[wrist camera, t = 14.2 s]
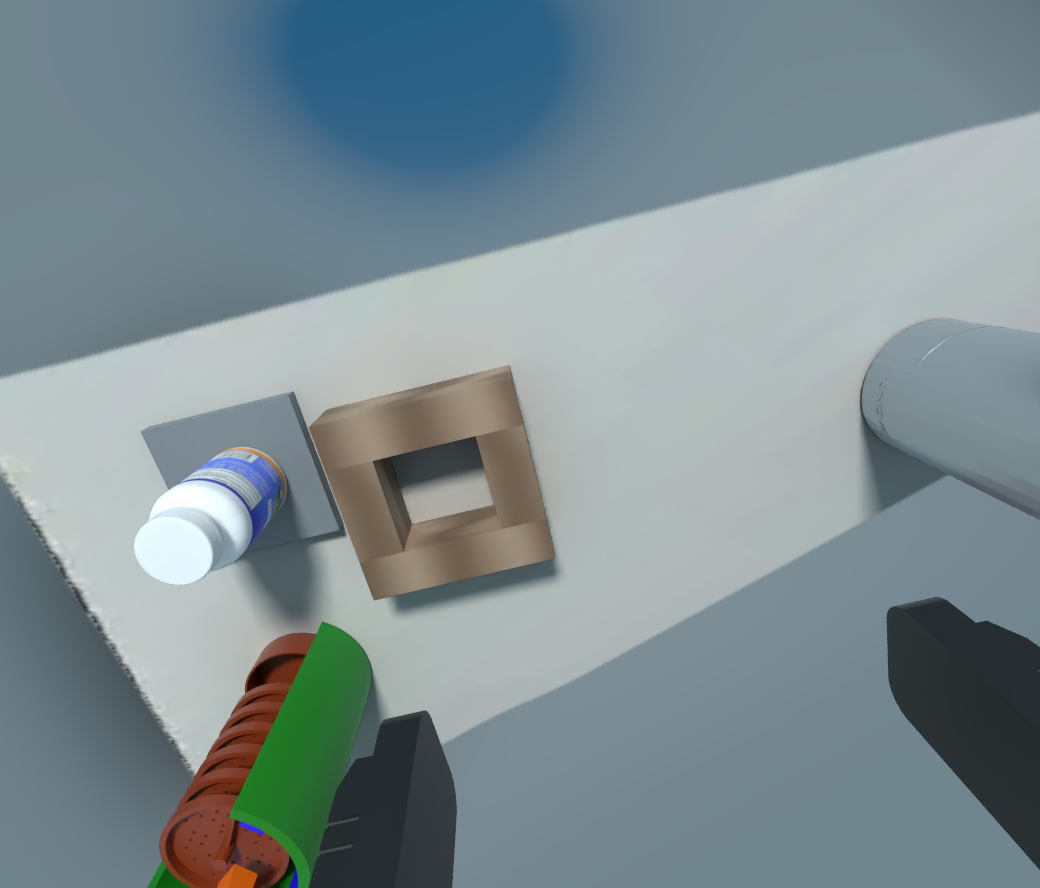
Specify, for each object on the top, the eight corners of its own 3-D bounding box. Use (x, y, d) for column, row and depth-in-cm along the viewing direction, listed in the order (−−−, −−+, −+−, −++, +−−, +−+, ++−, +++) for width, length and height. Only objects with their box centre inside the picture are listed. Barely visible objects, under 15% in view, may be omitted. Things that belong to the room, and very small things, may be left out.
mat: (293, 391, 38) (288, 395, 37) (343, 523, 42) (339, 530, 41) (149, 426, 39) (140, 431, 38) (209, 555, 42) (203, 562, 41)
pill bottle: (258, 532, 40) (189, 617, 31) (190, 484, 39) (97, 558, 30) (305, 479, 39) (249, 551, 30) (238, 427, 38) (157, 486, 29)
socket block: (509, 365, 38) (511, 378, 35) (549, 530, 43) (555, 558, 39) (326, 409, 39) (308, 427, 35) (384, 569, 43) (373, 600, 39)
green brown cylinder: (282, 605, 44) (121, 881, 25) (392, 647, 45) (321, 936, 26) (237, 703, 46) (62, 1020, 27) (343, 740, 48) (246, 1062, 29)
